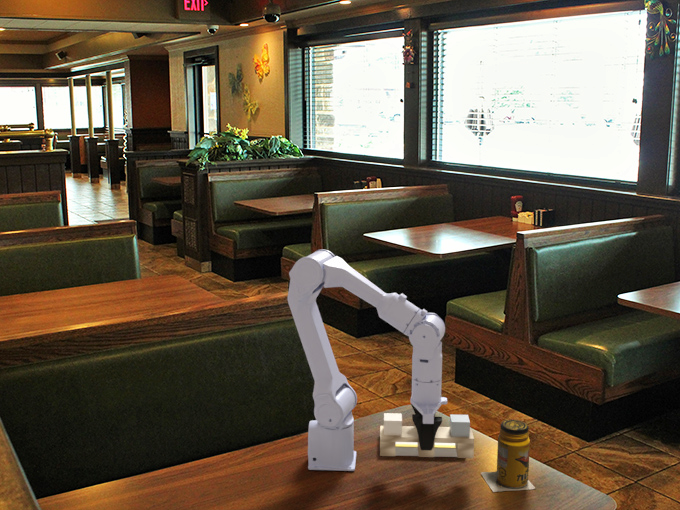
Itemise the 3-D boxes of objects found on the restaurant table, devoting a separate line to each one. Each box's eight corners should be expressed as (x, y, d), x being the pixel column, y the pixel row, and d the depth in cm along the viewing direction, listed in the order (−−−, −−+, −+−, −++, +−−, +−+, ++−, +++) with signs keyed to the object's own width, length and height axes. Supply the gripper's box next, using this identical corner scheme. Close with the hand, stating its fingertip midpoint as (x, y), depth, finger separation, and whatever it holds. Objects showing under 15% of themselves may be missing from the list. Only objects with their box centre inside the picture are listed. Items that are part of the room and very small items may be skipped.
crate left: (383, 435, 136) (383, 420, 135) (383, 427, 139) (384, 413, 139) (401, 435, 136) (402, 421, 135) (401, 427, 139) (401, 413, 138)
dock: (380, 455, 148) (380, 445, 147) (380, 434, 158) (380, 425, 157) (466, 457, 147) (466, 447, 146) (461, 436, 156) (461, 427, 156)
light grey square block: (451, 436, 135) (451, 421, 134) (449, 428, 138) (450, 414, 138) (469, 436, 135) (470, 422, 134) (467, 429, 138) (467, 414, 138)
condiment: (535, 489, 134) (538, 430, 132) (493, 492, 133) (495, 433, 130) (520, 470, 141) (523, 415, 139) (480, 474, 140) (482, 417, 137)
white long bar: (379, 455, 136) (380, 436, 135) (380, 444, 141) (380, 425, 140) (473, 458, 135) (474, 438, 134) (470, 446, 140) (470, 427, 139)
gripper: (451, 392, 127) (449, 461, 130) (444, 364, 142) (443, 427, 144) (412, 391, 128) (411, 460, 131) (409, 364, 142) (408, 426, 145)
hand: (425, 442), depth 137 cm, fingers closed on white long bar, 5 cm apart
